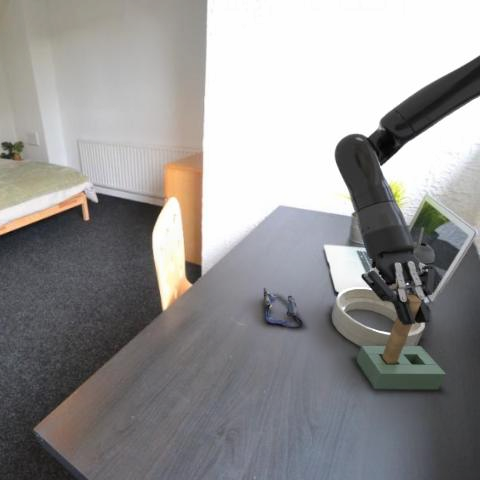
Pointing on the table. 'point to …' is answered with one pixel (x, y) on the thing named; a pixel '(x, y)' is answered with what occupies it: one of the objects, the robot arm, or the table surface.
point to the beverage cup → (423, 253)
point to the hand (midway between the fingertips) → (416, 323)
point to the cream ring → (360, 332)
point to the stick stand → (400, 369)
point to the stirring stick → (399, 333)
